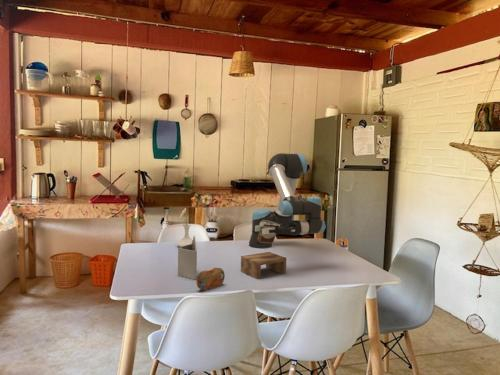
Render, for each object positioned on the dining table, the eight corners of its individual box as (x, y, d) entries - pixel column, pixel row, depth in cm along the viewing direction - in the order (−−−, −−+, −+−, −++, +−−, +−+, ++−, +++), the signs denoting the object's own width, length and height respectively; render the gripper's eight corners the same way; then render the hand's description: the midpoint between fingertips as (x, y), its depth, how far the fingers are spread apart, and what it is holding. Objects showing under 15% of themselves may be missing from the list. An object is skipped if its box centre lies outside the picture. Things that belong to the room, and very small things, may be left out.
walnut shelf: (240, 271, 203) (241, 256, 202) (268, 266, 213) (269, 251, 212) (257, 279, 191) (257, 262, 191) (285, 273, 202) (286, 257, 201)
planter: (176, 270, 202) (177, 232, 200) (192, 269, 204) (193, 232, 202) (179, 280, 186) (179, 239, 184) (196, 279, 188) (197, 239, 187)
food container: (267, 238, 209) (273, 220, 207) (274, 243, 204) (281, 225, 203) (249, 237, 201) (255, 218, 199) (257, 242, 196) (263, 223, 195)
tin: (199, 292, 171) (200, 273, 170) (194, 290, 173) (195, 271, 172) (224, 284, 182) (225, 266, 182) (220, 283, 184) (220, 265, 184)
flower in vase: (180, 244, 258) (181, 205, 256) (197, 245, 257) (198, 206, 254) (173, 248, 245) (174, 208, 243) (191, 250, 244) (192, 209, 241)
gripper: (308, 238, 200) (268, 241, 190) (287, 230, 218) (250, 233, 208) (309, 223, 200) (268, 226, 189) (288, 217, 217) (250, 219, 207)
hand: (259, 230), depth 199 cm, fingers closed on food container, 7 cm apart
